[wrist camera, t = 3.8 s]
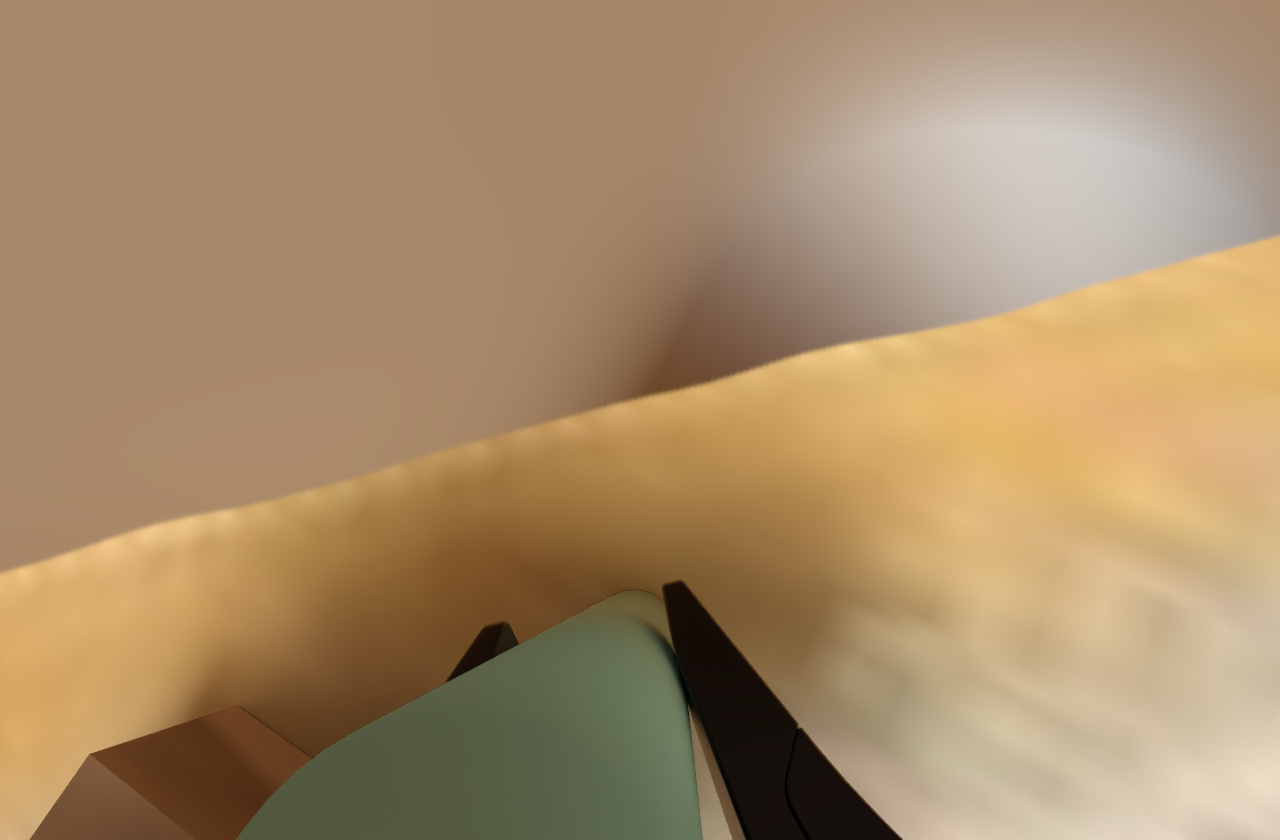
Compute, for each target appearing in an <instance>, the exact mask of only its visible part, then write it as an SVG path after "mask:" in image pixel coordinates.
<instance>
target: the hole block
mask: <svg viewBox="0 0 1280 840" xmlns="http://www.w3.org/2000/svg"><path fill="white" fill-rule="evenodd" d="M310 760H312V758H310V757H309V756H308V755H306V754H305V753H303V752H302V751H301V750H299V749H298V748H296V747H295V746H294V745H292V744H291V743H289V742H288V741H287V740H285V739H284V738H282V737H281V736H280V735H278V734H277V733H275V732H274V731H273V730H271V729H270V728H268V727H267V726H266V725H264V724H263V723H261V722H260V721H259V720H257V719H256V718H254V717H253V716H252V715H250V714H249V713H247V712H246V711H245V710H243V709H242V708H240V707H239V706H235V707H232V708H229V709H226V710H223V711H220V712H217V713H214V714H211V715H208V716H205V717H201V718H198V719H195V720H192V721H189V722H186V723H183V724H180V725H177V726H174V727H171V728H168V729H165V730H162V731H159V732H156V733H152V734H149V735H146V736H143V737H140V738H137V739H134V740H131V741H128V742H125V743H122V744H119V745H116V746H113V747H110V748H107V749H103V750H100V751H97V752H94V753H91V754H89V756H88V757H87V758H86V760H85V761H84V763H83V764H82V766H81V767H80V768H79V770H78V771H77V773H76V774H75V776H74V777H73V778H72V780H71V781H70V783H69V784H68V786H67V787H66V788H65V790H64V791H63V793H62V794H61V796H60V797H59V798H58V800H57V801H56V803H55V804H54V806H53V807H52V808H51V810H50V811H49V813H48V814H47V816H46V817H45V818H44V820H43V821H42V823H41V824H40V826H39V827H38V829H37V830H36V831H35V833H34V834H33V836H32V837H31V839H30V840H236V839H237V838H238V836H239V835H240V833H241V832H242V830H243V829H244V828H245V826H246V825H247V824H248V823H249V822H250V820H251V819H252V818H253V817H254V816H255V814H256V813H257V812H258V811H259V810H260V808H261V807H262V806H263V805H264V803H265V802H266V801H267V800H268V799H269V798H270V797H271V796H272V795H273V794H274V793H275V792H276V791H277V790H278V789H279V788H280V787H281V786H282V785H283V784H284V783H285V782H286V781H287V780H288V779H289V778H290V777H291V776H292V775H293V774H294V773H295V772H296V771H297V770H299V769H300V768H301V767H303V766H304V765H305V764H306V763H308V762H309V761H310Z"/></svg>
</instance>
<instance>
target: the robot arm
mask: <svg viewBox="0 0 1280 840" xmlns="http://www.w3.org/2000/svg"><path fill="white" fill-rule="evenodd" d="M662 591H663V597H664V603H665V608H666V614H667V619H668V625H669V630H670V635H671V640H672V644H673V648H674V651H675V655H676V659H677V663H678V667H679V671H680V674H681V678H682V681H683V684H684V688H685V691H686V695H687V701H688V705H689V708H690V712H691V715H692V718H693V722H694V725H695V728H696V731H697V734H698V737H699V740H700V743H701V746H702V749H703V752H704V755H705V758H706V761H707V764H708V767H709V770H710V773H711V776H712V779H713V782H714V785H715V788H716V791H717V794H718V797H719V800H720V803H721V806H722V809H723V812H724V815H725V818H726V821H727V824H728V827H729V830H730V834H731V837H732V840H903V839H902V838H901V837H900V836H899V835H898V834H897V833H896V832H895V831H894V830H893V829H892V828H891V827H890V826H889V825H888V824H887V823H886V822H885V821H884V820H883V819H882V818H881V817H880V816H879V815H878V814H877V813H876V812H875V811H874V810H873V809H872V808H871V806H870V805H869V804H868V803H867V802H866V801H865V800H864V799H863V798H862V797H861V796H860V795H859V794H858V793H857V792H856V791H855V789H854V788H853V787H852V786H851V785H850V784H849V783H848V782H847V781H846V780H845V779H844V777H843V776H842V775H841V774H840V773H839V772H838V770H837V769H836V768H835V767H834V766H833V765H832V763H831V762H830V761H829V760H828V759H827V758H826V756H825V755H824V754H823V753H822V752H821V750H820V749H819V748H818V747H817V746H816V744H815V743H814V742H813V741H812V739H811V738H810V737H809V736H808V734H807V733H806V732H805V731H804V729H803V728H799V724H798V722H797V721H796V720H795V719H794V717H793V716H792V715H791V714H790V712H789V711H788V710H787V709H786V708H785V706H784V705H783V704H782V703H781V701H780V700H779V699H778V698H777V696H776V695H775V694H774V693H773V691H772V690H771V689H770V688H769V686H768V685H767V684H766V683H765V681H764V680H763V679H762V678H761V676H760V675H759V674H758V673H757V672H756V670H755V669H754V668H753V667H752V665H751V664H750V663H749V662H748V660H747V659H746V658H745V657H744V655H743V654H742V653H741V652H740V650H739V649H738V648H737V647H736V645H735V644H734V643H733V642H732V641H731V639H730V638H729V637H728V636H727V634H726V633H725V632H724V631H723V629H722V628H721V627H720V626H719V624H718V623H717V622H716V621H715V619H714V618H713V617H712V616H711V614H710V613H709V612H708V611H707V609H706V608H705V607H704V606H703V605H702V603H701V602H700V601H699V600H698V598H697V597H696V596H695V595H694V593H693V592H692V591H691V590H690V588H689V587H688V586H687V585H686V583H685V582H684V581H682V580H677V581H672V582H668V583H664V584H663V585H662ZM517 645H519V643H518V641H517V639H516V637H515V635H514V633H513V631H512V629H511V627H510V625H509V624H508V623H507V622H506V621H501V622H497V623H493V624H489V625H486V626H485V627H484V628H483V629H482V630H481V631H480V633H479V634H478V636H477V637H476V639H475V640H474V641H473V643H472V644H471V646H470V647H469V649H468V650H467V652H466V653H465V654H464V656H463V657H462V659H461V660H460V662H459V663H458V664H457V666H456V667H455V669H454V670H453V672H452V673H451V675H450V676H449V677H448V679H447V680H446V682H445V683H447V682H449V681H451V680H453V679H455V678H457V677H458V676H460V675H462V674H464V673H466V672H468V671H470V670H472V669H474V668H476V667H477V666H479V665H481V664H483V663H485V662H487V661H489V660H491V659H493V658H494V657H496V656H498V655H500V654H502V653H504V652H506V651H508V650H510V649H512V648H513V647H515V646H517ZM445 683H444V684H445Z"/></svg>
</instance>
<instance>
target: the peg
mask: <svg viewBox="0 0 1280 840" xmlns="http://www.w3.org/2000/svg"><path fill="white" fill-rule="evenodd" d="M236 840H703V838H702V829H701V820H700V810H699V801H698V792H697V783H696V774H695V765H694V755H693V746H692V737H691V728H690V719H689V710H688V701H687V695H686V691H685V688H684V684H683V681H682V678H681V674H680V671H679V667H678V663H677V659H676V655H675V651H674V648H673V644H672V640H671V635H670V630H669V625H668V619H667V614H666V608H665V603H664V602H663V601H662V600H661V599H659V598H658V597H656V596H655V595H653V594H650V593H648V592H645V591H640V590H627V591H622V592H619V593H616V594H614V595H612V596H610V597H608V598H606V599H604V600H603V601H601V602H599V603H597V604H595V605H593V606H591V607H589V608H587V609H586V610H584V611H582V612H580V613H578V614H576V615H574V616H572V617H570V618H568V619H567V620H565V621H563V622H561V623H559V624H557V625H555V626H553V627H551V628H549V629H548V630H546V631H544V632H542V633H540V634H538V635H536V636H534V637H532V638H531V639H529V640H527V641H525V642H523V643H521V644H519V645H517V646H515V647H513V648H512V649H510V650H508V651H506V652H504V653H502V654H500V655H498V656H496V657H494V658H493V659H491V660H489V661H487V662H485V663H483V664H481V665H479V666H477V667H476V668H474V669H472V670H470V671H468V672H466V673H464V674H462V675H460V676H458V677H457V678H455V679H453V680H451V681H449V682H447V683H445V684H443V685H441V686H439V687H438V688H436V689H434V690H432V691H430V692H428V693H426V694H424V695H422V696H421V697H419V698H417V699H415V700H413V701H411V702H409V703H407V704H405V705H403V706H402V707H400V708H398V709H396V710H394V711H392V712H390V713H388V714H386V715H384V716H383V717H381V718H379V719H377V720H375V721H373V722H371V723H369V724H367V725H366V726H364V727H362V728H360V729H358V730H356V731H354V732H353V733H351V734H349V735H348V736H346V737H344V738H343V739H341V740H339V741H338V742H336V743H334V744H333V745H331V746H329V747H328V748H326V749H324V750H323V751H322V752H321V753H319V754H318V755H317V756H315V757H314V758H313V759H312V760H310V761H309V762H308V763H306V764H305V765H304V766H303V767H301V768H300V769H299V770H297V771H296V772H295V773H294V774H293V775H292V776H291V777H290V778H289V779H288V780H287V781H286V782H285V783H284V784H283V785H282V786H281V787H280V788H279V789H278V790H277V791H276V792H275V793H274V794H273V795H272V796H271V797H270V798H269V799H268V800H267V801H266V802H265V803H264V805H263V806H262V807H261V808H260V810H259V811H258V812H257V813H256V814H255V816H254V817H253V818H252V819H251V820H250V822H249V823H248V824H247V825H246V826H245V828H244V829H243V830H242V832H241V833H240V835H239V836H238V838H237V839H236Z"/></svg>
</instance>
